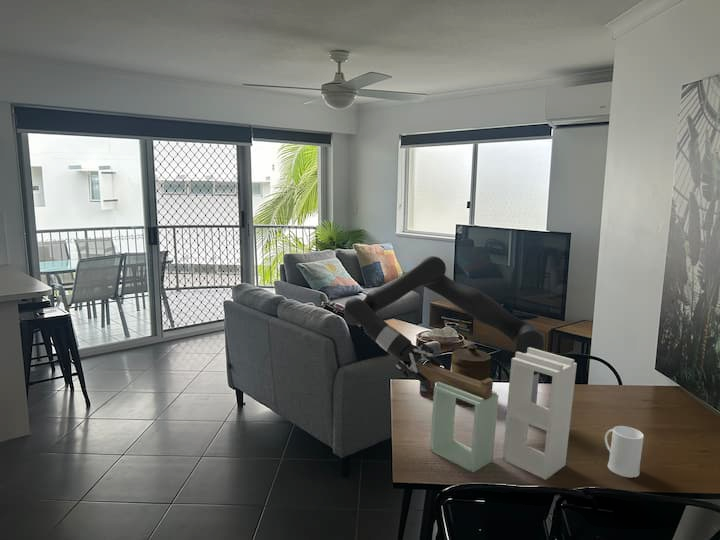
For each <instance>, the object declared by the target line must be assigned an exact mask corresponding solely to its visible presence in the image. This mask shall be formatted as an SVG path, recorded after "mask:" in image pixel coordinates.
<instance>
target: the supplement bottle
mask: <svg viewBox="0 0 720 540" xmlns="http://www.w3.org/2000/svg"><path fill="white" fill-rule="evenodd" d="M434 386H436V383H435V382H433V381H430V380H427V382H426V383H425V384H424V383H422V382H420V381H419V394H420V396H423V397H426V398H432V397H434Z"/></svg>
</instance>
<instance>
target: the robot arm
mask: <svg viewBox="0 0 720 540" xmlns="http://www.w3.org/2000/svg"><path fill="white" fill-rule="evenodd" d="M446 270H447V267H446V262H444V260H442V259H441V258H440V257H439V256H438V257H437V256H428V257H426V258H424V259H422V260H421V262H420V263H418V264H417V265H416V266H414V267H413V268H412V269H410V270H408V271H407V272H405V273H404V274H402V275H400V276H398V277H397V278H394V279H392V280H391V281H388V282H386V283H384V284H383V285H382V284H381V285H380V286H379V287H377V288H374V289H373V290H371V291H369V292H368V293H367V294H366V296H365V297H364V299H362V298H358V297H350V298H349V299H347V300H346V302H345V304H344V311H343V312H344V313H343V314H344V315H343V316H344V320H345V322H346V323H347V324H348V325H351V326H357V325H360V326H362V328H363V330H364V331H363V332H364V333H365V334H366V335H367V336H368V337H369V338H370V339H371V340H373V341H374V342H375V343H376V344H378V346H379V347H380V348H382V349H383V350H384V351H385V352H387V353H388V354H389V355H390V356H392V358H394V359H395V360H398V361H397V363H396V364H395V369H397V371H399V373H401V374H402V375H403V376H404V377H405V378H406V379H408V380H410V379H411V378H415V379H416V380H418V381H419V383H420V382H422V383H424V384H425V383H426V382H427V380H428V378H427V377H425V376H424V375H423V374H422V373H420V372H419V370H418V368H417V363H419V362H420V361H428V362H429V364H431V365H434V366H437V367H440V368H441V366H442V363H441V361H440V360H439V359H437V358H436V356H434V353H435V350H434V349H433V348H431V347H430V346H429V345H428V344H426V343H425V342H423V341H421V340H418V341H417V343H416V345H414V344H413V343H412V341H411V340H410V339H409V338H407V336H405V335H404V334H402V333H401V332H400V331H399V330H397V329H396V328H395V327H393V326H391V325H390V324H388V323H387V322H386V321H385V320H384V319H382V318H381V317H379V316H378V314H377V312H379V311H381V310H383V309H384V308H387V307H389V306H390V305H393V304H395V302H397V301H399V300H400V299H401V298H403V297H404V296H406V295H407V294H409V293H410V292H412V291H413V290H416V289H417V288H418V287H421V286H422V287H425V288H426V289H428V290H430V291H432V292H434V293H436V294H437V295H439V296H441V297H443V298H445V300H447V301H449V302H450V303H452V304H453V305H454V306H456V307H458V309H460V310H462V311H463V312H465V313H466V314H467V315H469V316H470V317H471V318H473V319H474V320H476V321H479V323H482V324H483V325H486V326H489V327H491V328H494V329H496V330H498V332H501V333H503V334H504V335H505V336H507V338H509V339H510V340H511V341H512V342H514V344H515V354H516V352H521V353H524V354H525V353H527V348H529V347H531V348H534V349H538V350H541V351H545V350H544V349H545V339H544V337H543V335H542V333H541V332H540V331H539V329H538V328H536V327H535V326H533V325H532V324H530V323H528V322H526V321H525V320H522V319H520V318H519V317H517V316H515V315H513V314H512V313H511V312H509V311H508V310H507V309H506V308H504V307H503V306H502V305H501V304H499V302H497V301H496V300H494V299H493V298H491V297H490V296H488V294H486V293H484V292H482V291H481V290H479V289H478V288H475V287H473V286H469V285H465V284H462V283H460V282H459V283H458V282H457V281H454V280H453V279H451V278H449V277H448V276H446V275H445V274H446V272H447V271H446ZM515 354H514V355H515ZM539 377H540V372H537V371H534V376H533V386H532V396H531V402H532V403H535V404H538V402H537V401H538V393H539V392H538V389H539V379H540V378H539Z"/></svg>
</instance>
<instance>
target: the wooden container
mask: <svg viewBox="0 0 720 540" xmlns="http://www.w3.org/2000/svg"><path fill="white" fill-rule="evenodd" d="M491 361H492V358H491V355H490V354H489V353H487V352H486V351H484V350H480V349H477V345H475V344H474V343H470V344H468V345H467V348H458V349H454V350H453V351H452V352H451V361H450V362H451V363H450V365H451V366H450V371H452V372H455V373H458V374H461V375H464V376H467V377H469V378H472V379H475V380H478V381H483V380H485V379H487V378H490V379H491V377H490V376H491V374H490V373H491ZM455 405H458V406H461V407H466V408H475V405H473V404H471V403H468V402H466V401H463V400H461V399H458V398H456V404H455Z"/></svg>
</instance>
